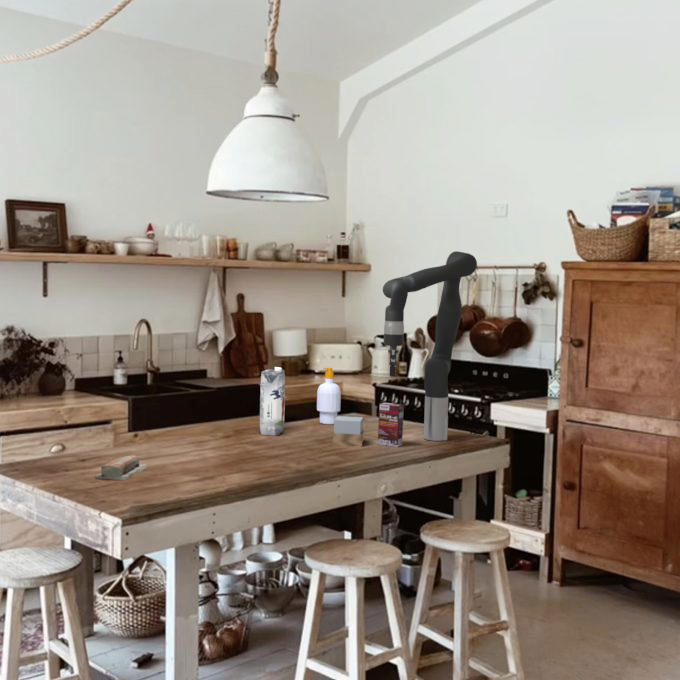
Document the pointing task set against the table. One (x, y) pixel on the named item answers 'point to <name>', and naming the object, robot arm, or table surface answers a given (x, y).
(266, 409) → the juice carton
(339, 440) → the walnut block
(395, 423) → the supplement box
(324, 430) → the table surface
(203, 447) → the table surface
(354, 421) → the pale gray block
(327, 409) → the soap bottle
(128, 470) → the packaged product
